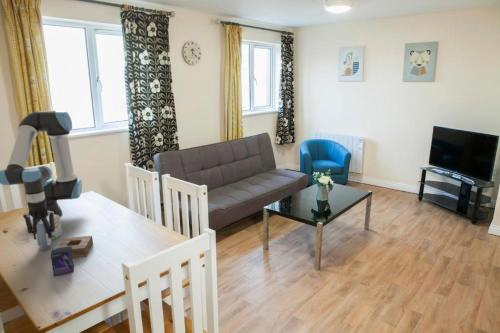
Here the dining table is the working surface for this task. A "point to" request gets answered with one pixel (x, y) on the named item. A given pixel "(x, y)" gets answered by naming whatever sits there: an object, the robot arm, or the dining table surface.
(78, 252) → the socket
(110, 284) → the dining table surface
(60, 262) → the box
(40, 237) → the peg
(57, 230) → the ink box
